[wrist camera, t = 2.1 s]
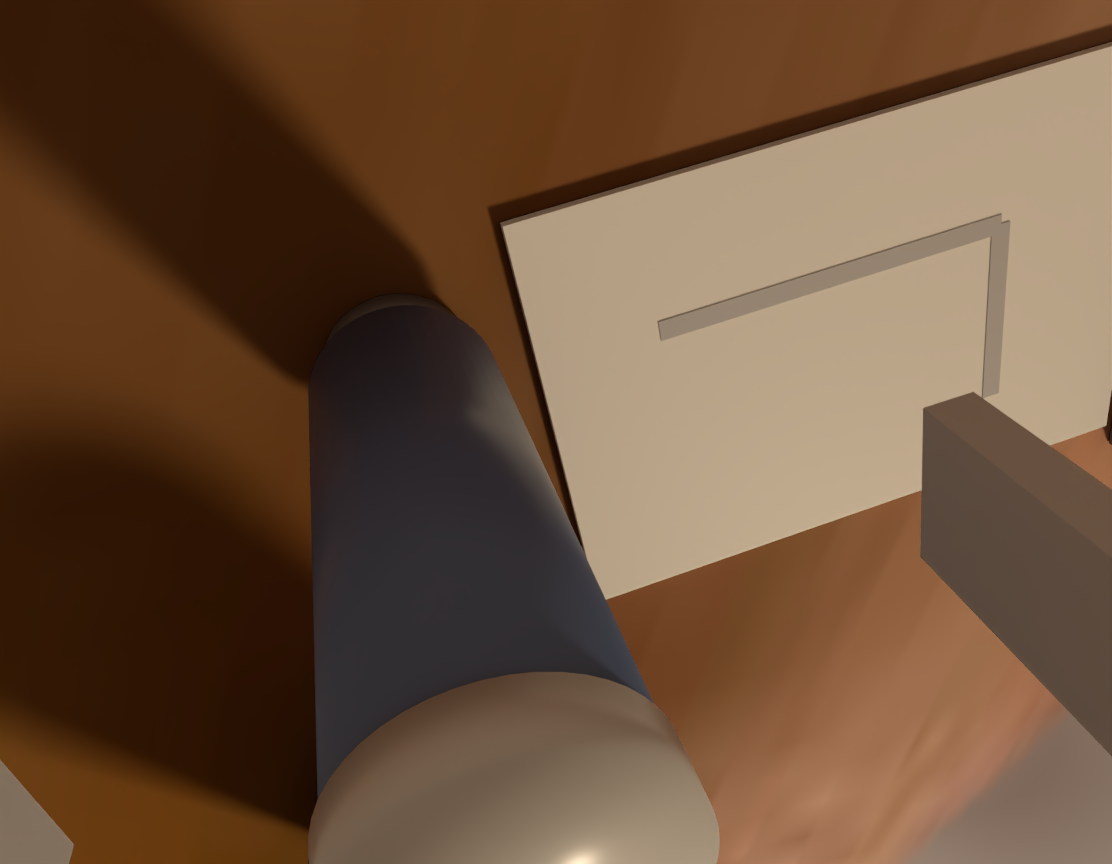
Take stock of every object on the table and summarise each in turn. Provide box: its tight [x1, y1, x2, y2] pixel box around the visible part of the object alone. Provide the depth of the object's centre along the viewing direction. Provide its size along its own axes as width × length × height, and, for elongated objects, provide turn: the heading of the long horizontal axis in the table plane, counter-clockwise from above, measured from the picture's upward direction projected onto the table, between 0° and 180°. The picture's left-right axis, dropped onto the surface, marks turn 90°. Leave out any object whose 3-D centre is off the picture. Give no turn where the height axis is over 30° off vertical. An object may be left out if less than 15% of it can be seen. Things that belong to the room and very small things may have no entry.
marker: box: [308, 294, 720, 864], centre depth 14 cm, size 4×4×13 cm
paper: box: [500, 42, 1112, 599], centre depth 22 cm, size 16×11×1 cm
